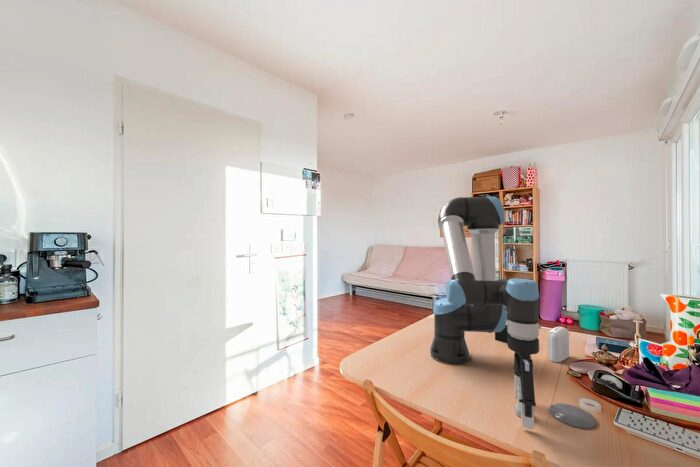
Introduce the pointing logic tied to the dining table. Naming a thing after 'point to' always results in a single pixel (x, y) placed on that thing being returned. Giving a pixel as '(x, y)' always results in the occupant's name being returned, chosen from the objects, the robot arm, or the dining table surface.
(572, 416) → the grey disc
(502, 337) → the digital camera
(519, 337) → the robot arm
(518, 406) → the rook chess piece
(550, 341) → the white rounded block
